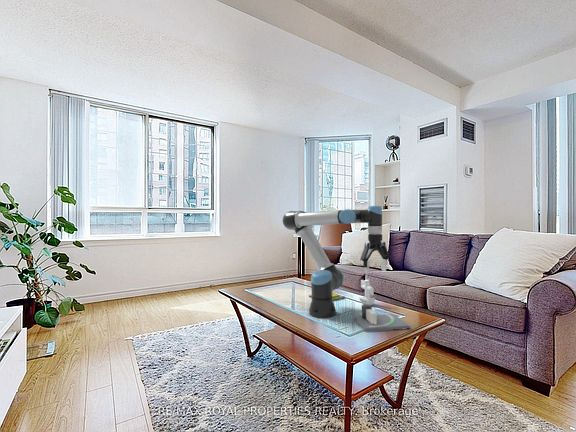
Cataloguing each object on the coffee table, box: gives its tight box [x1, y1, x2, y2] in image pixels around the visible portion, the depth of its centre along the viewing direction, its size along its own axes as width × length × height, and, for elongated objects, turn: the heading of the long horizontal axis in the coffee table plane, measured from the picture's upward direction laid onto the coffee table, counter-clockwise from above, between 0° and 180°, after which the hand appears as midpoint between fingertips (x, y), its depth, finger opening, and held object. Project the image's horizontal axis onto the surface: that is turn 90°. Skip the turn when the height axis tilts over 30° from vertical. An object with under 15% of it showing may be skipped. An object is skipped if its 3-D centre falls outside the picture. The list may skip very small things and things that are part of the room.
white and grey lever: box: [361, 304, 378, 325], centre depth 151 cm, size 14×5×6 cm, turn 5°
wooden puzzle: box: [308, 291, 346, 301], centre depth 204 cm, size 18×19×4 cm
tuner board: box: [352, 313, 411, 333], centre depth 151 cm, size 22×18×2 cm
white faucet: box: [358, 279, 377, 306], centre depth 185 cm, size 7×9×15 cm
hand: (375, 272), depth 166 cm, fingers open, 13 cm apart
